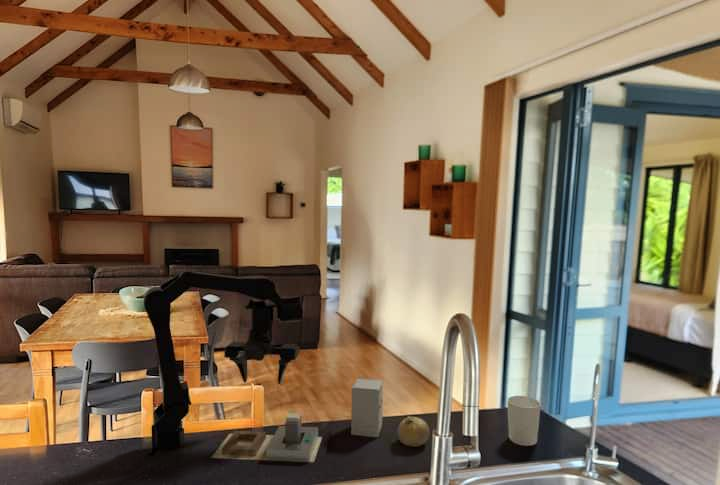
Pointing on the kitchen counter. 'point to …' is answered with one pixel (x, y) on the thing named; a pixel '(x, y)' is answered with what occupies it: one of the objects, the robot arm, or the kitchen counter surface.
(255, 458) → the board
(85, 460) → the kitchen counter surface
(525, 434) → the white cup
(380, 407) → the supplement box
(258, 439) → the brown rectangular frame
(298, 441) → the plug
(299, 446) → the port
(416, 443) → the onion
